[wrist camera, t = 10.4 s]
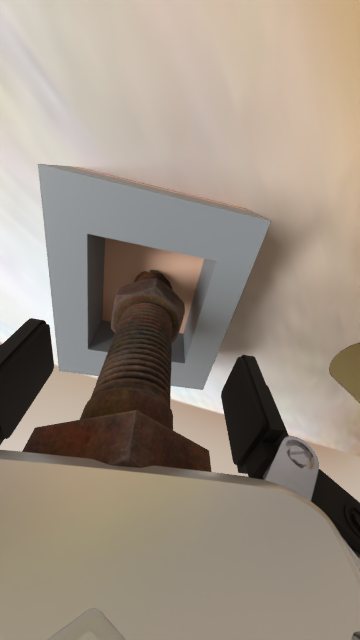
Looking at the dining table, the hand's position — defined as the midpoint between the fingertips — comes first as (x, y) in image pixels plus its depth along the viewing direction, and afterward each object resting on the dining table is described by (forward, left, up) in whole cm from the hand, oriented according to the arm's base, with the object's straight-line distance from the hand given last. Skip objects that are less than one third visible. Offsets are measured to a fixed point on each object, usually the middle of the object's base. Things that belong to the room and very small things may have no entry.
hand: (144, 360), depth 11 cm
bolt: (0, 0, -9) cm, 9 cm away
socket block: (+1, 0, -10) cm, 10 cm away
